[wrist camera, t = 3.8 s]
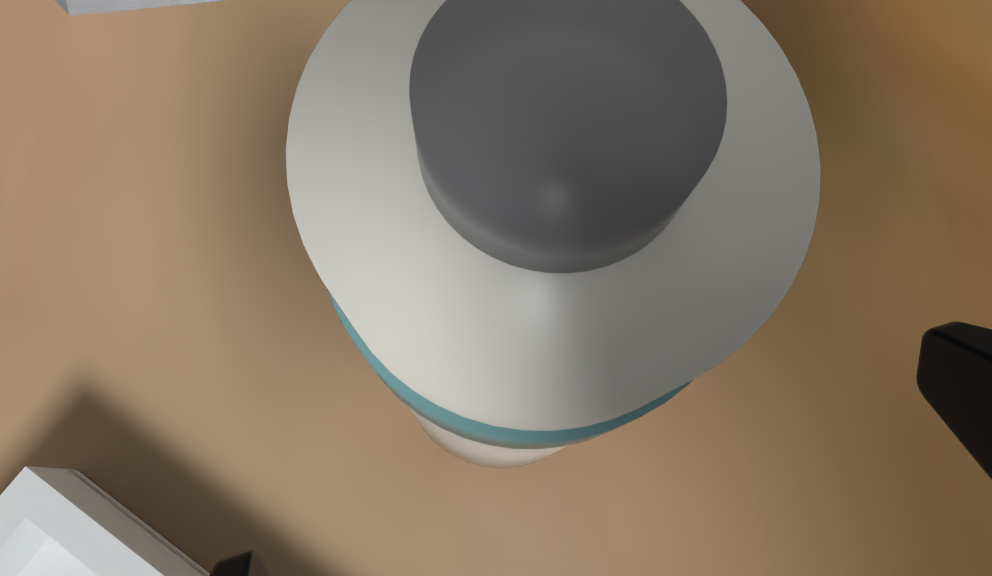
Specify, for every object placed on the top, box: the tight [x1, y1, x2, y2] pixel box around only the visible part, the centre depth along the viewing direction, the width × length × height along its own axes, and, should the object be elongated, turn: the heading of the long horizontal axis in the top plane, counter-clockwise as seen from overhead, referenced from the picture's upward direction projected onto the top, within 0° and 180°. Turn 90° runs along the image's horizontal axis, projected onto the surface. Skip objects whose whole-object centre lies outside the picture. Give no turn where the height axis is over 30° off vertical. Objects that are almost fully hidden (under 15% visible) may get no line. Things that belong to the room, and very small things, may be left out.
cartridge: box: [286, 0, 820, 468], centre depth 13 cm, size 6×6×14 cm
